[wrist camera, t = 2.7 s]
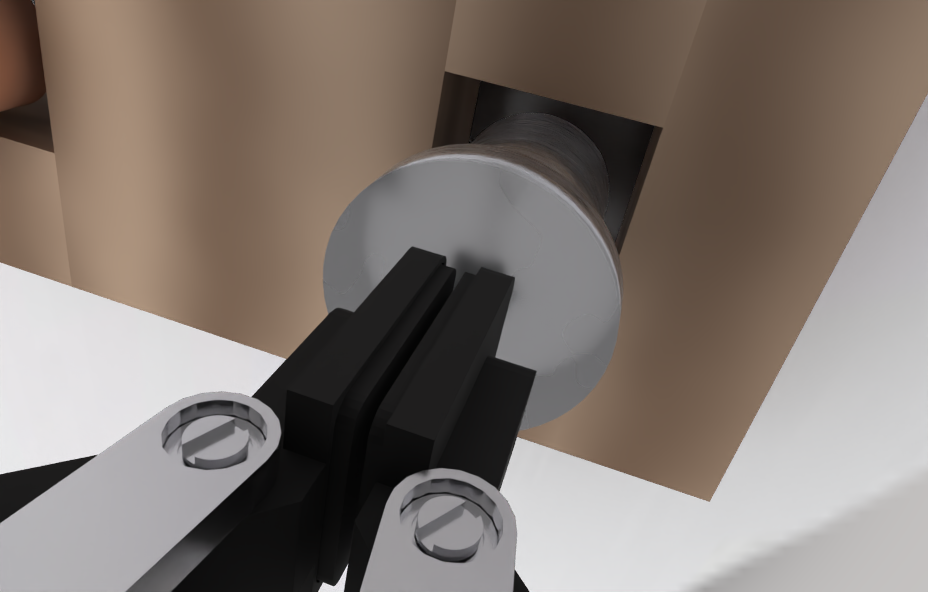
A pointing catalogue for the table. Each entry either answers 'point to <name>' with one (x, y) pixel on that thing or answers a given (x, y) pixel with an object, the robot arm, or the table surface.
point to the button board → (449, 122)
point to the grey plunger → (502, 245)
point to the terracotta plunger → (20, 55)
